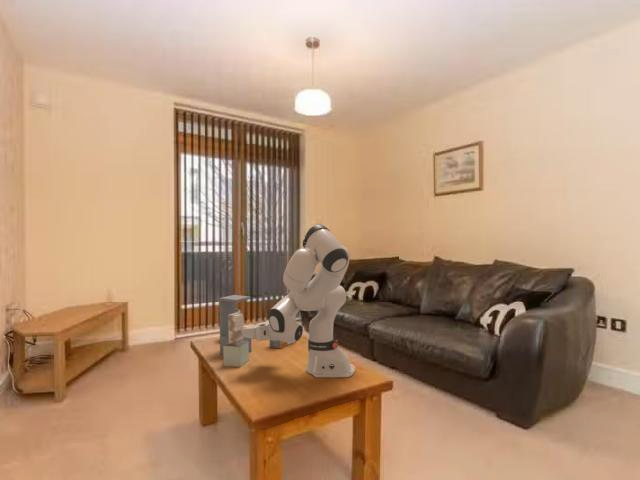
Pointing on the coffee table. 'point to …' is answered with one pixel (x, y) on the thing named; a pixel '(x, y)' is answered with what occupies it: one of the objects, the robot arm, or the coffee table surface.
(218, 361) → the coffee table surface
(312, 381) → the coffee table surface
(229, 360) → the stand
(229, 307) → the grey podium
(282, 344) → the hard drive box
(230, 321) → the block
